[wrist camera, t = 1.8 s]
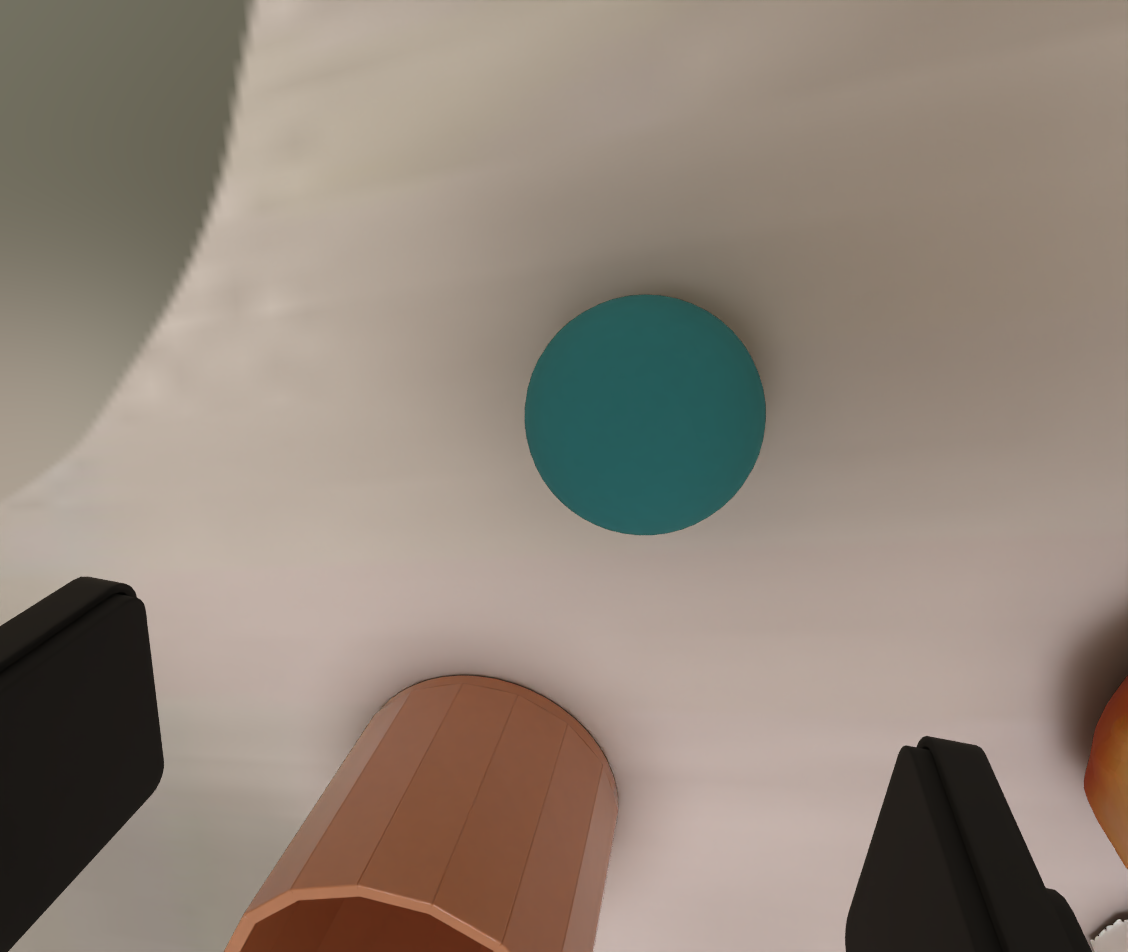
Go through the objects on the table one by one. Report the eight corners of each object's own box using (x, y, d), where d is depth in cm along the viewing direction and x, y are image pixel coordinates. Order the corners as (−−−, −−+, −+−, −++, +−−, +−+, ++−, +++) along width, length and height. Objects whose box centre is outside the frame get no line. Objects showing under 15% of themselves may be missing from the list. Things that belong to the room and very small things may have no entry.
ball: (781, 294, 21) (797, 339, 16) (740, 498, 24) (742, 599, 18) (562, 266, 22) (505, 299, 17) (543, 466, 24) (488, 552, 19)
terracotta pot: (635, 706, 27) (591, 944, 19) (601, 913, 31) (553, 1187, 22) (362, 650, 28) (210, 848, 20) (362, 854, 32) (234, 1091, 24)
